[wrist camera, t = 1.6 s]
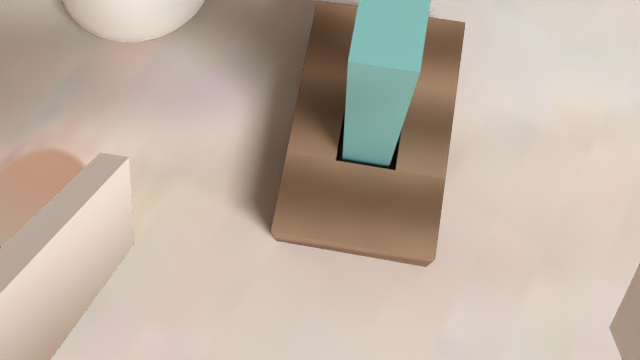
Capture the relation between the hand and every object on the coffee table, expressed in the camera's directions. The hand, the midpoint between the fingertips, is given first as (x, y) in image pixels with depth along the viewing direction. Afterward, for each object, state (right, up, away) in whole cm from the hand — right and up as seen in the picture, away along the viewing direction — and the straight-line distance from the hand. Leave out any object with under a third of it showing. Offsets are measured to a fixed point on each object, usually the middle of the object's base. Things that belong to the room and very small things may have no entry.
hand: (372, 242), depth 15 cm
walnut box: (+2, +4, +26) cm, 26 cm away
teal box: (+2, +5, +25) cm, 26 cm away
